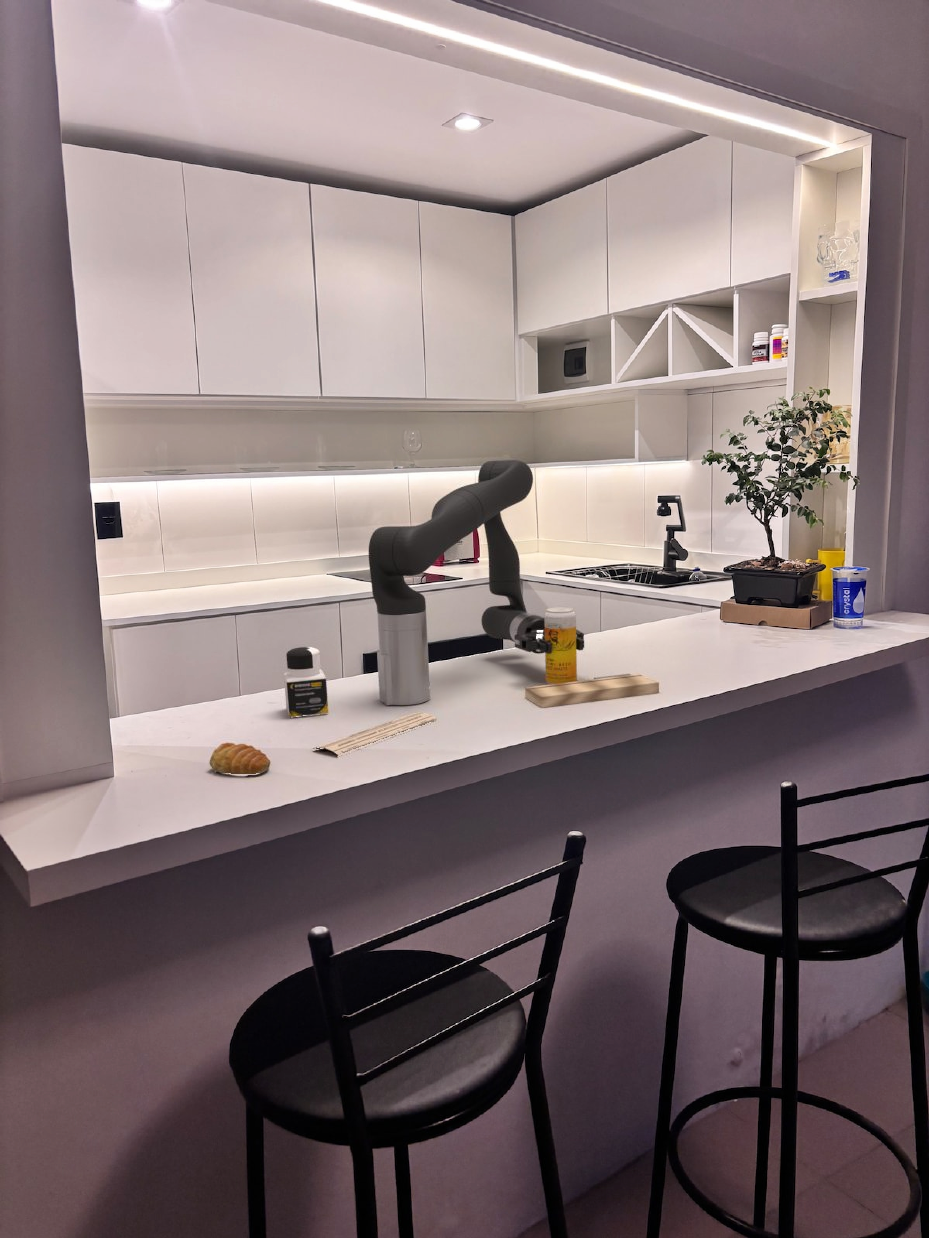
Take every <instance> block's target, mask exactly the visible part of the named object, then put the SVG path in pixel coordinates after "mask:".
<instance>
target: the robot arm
mask: <svg viewBox="0 0 929 1238" xmlns="http://www.w3.org/2000/svg"><path fill="white" fill-rule="evenodd" d="M477 477H478V478H477V482H475V483H470V484H466V485H463V486H460V487H458V488H456V489H454V490H452V491H450V492H448V493H447V494H446V495H444V496H443V497H441V498H440V499H439V500H438V501H437V502H436V503H435V504H434V506H433V509H432V512H431V519H429V520H427V521H425V522H423V523H421V524H418V525H406V526H405V525H403V526H400V525H397V526H393V525H391V526H387V525H386V526H381V527H378V528H376V529H375V530H374V531H373V532H372V534H371V536H370V539H369V542H368V543H369V544H368V565H369V574H370V582H371V584H370V585H371V590H372V591H371V593H372V597H373V599H374V602H375V605H376V612H377V613H376V614H377V626H378V627H377V630H378V632H377V633H378V645H379V646H378V648H379V649H377V652H376V655H377V659H376V660H377V673H378V692H379V693H378V694H379V700H380V701H382V703H384V705H386V706H410V705H418V704H422V703H425V702H427V701H429V700H430V699H431V685H430V683H431V682H430V667H429V666H430V665H429V646H428V628H427V627H428V625H427V624H428V623H427V622H428V621H427V610H426V609H427V605H426V598H425V596H424V595H423V594H422V593H421V592H418V591H416V590H415V589H413V588H412V587H410V586H409V585H408V583H407V582H406V581H405V577H413V576H418V575H421V574H423V573H425V572H426V571H427V570H428V569H430V567H432V565H434V563H436V562H437V561H438V560H439V558H441V557H442V556H443V554H445V553H446V552H447V551H448V550H449V549H450V548H452V547H454V546H455V545H456V544H457V543H459V542H460V541H461V540H462V539H464V538H466V537H467V536H469V535H470V534H472V533H474V532H475V531H476V530H478V529H479V528H480V527H481V526H482V525H484V531H485V537H486V543H487V544H486V545H487V552H488V553H487V554H488V555H487V556H488V588H489V592H490V594H492V595H495V596H500V597H501V596H502V597H506V598H507V599H508V602H509V604H506V605H504V604H503V605H493V606H492V605H491V606H490V607H487V608H486V609H485V610H484V611H483V613H482V615H481V619H480V620H481V627H482V629H483V631H484V632H485V633H486V634H487V636H489V637H490V638H493V639H497V640H498V639H499V640H507V641H511V642H513V643H514V648H516V649H519V650H522V651H525V652H526V653H527V652H528V653H534V654H537V655H538V654H545V653H547V654H551V653H552V644H551V642H549V641H546V640H545V619H544V616H540V615H537V614H535V613H529V612H528V611H527V609H526V604H525V602H524V598H523V593H522V589H521V572H520V571H521V568H520V565H521V564H520V557H519V553H518V549H517V547H516V545H515V543H514V541H513V540H512V538H511V536H510V534H509V532H508V531H507V529H506V526H505V523H504V521H503V519H502V513H501V512H502V511H504V510H507V509H508V508H510V507H511V506H514V505H516V504H518V503H520V502H522V501H524V500H525V499H526V498H528V496H529V494H530V492H531V491H532V488H533V484H534V475H533V471H532V469H531V467H530V465H528V464H527V463H526V462H524V461H521V460H518V459H506V460H489V461H486V462H484V463H483V464H482V465H481V467H480V468H479V472H478V476H477ZM584 637H585V633H583V631H580V630H579V629H577V628H576V651H577V650H578V651H584V648H585V640H584V639H585V638H584Z"/></svg>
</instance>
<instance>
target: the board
mask: <svg viewBox="0 0 929 1238" xmlns="http://www.w3.org/2000/svg"><path fill="white" fill-rule="evenodd" d="M524 692H525V694H524V696H525V699H526V698H527V700H528V701H530V702H532V703H534V704H535V705H536V706H538V707H539V708H551V707H559V706H566V705H574V704H580V703H581V704H582V703H591V702H596V701H597V702H598V701H605V700H612V699H621V698H622V699H623V698H629V697H637V696H644V695H652V694H659V693H660V681H656V680H654V679H651V678H649V677H647V676H645V675H642V674H639V673H636V674H635V673H634V674H631V675H625V676H617V677H609V678H600V679H594V678H592V679H586V680H585V679H584V680H579V681H578V680H577V681H576V682H567V683H559V684H551V685H549V684H544V685H536V686H526V687H524Z"/></svg>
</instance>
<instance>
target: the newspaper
mask: <svg viewBox="0 0 929 1238" xmlns="http://www.w3.org/2000/svg"><path fill="white" fill-rule="evenodd" d="M436 720H437V717H435V716H434V715H431V714H430V713H429V714H428V713H425V712H419V711H418V712H413V713H411V714H407V715H404V716H402V717H399V718H396V719H394V720H391V721H387V722H384V723H382V724H379V725H376V726H374V727H371V728H367V729H365V730H364V729H363V730H362V731H360V732H359V731H358V732H357V733H354V734H351V735H348V736H345V737H341V738H339V739H336V740H333V741H330V742H327V743H324V744H321V745H319V746H316V747H314V748H316V749H320V748H325V749H326V750H328V751H331V752H333V753H335V754H336V755H339V754H341V753H345V752H348V751H350V750H352V749H356V748H359V747H361V746H365V745H367V744H370V743H374V742H376V741H378V740H380V739H384V738H387V737H389V736H393V735H395V734H397V733H400V732H404V731H406V730H408V729H413V728H415V727H418V726H422V725H425V724H427V723H429V722H433V723H435V722H437V721H438V720H437V721H436ZM434 721H435V722H434ZM427 725H428V724H427ZM425 726H426V725H425ZM422 727H423V726H422ZM317 747H319V748H317ZM314 748H312V749H314Z"/></svg>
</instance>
